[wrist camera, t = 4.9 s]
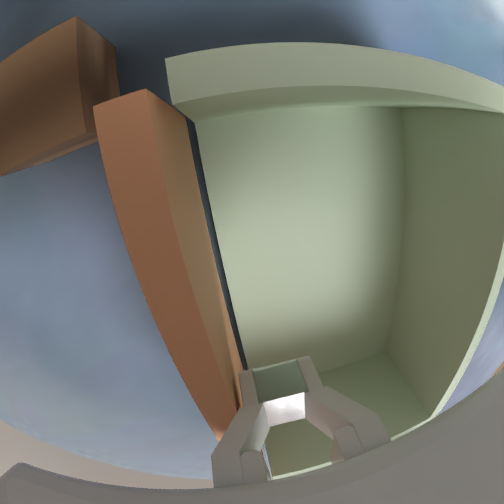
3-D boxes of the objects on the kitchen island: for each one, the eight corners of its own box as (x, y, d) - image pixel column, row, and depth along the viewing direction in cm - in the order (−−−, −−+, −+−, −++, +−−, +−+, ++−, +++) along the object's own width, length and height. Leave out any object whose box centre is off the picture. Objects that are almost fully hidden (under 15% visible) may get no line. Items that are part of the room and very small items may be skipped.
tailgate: (156, 124, 10) (78, 112, 4) (185, 117, 10) (145, 88, 4) (234, 402, 18) (248, 491, 11) (251, 399, 18) (270, 487, 12)
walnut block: (39, 82, 9) (-15, 74, 5) (115, 47, 10) (76, 15, 5) (50, 161, 11) (-5, 178, 7) (127, 131, 12) (86, 132, 7)
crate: (192, 104, 12) (164, 58, 4) (400, 93, 12) (517, 94, 5) (253, 386, 20) (273, 480, 12) (387, 347, 21) (435, 418, 13)
